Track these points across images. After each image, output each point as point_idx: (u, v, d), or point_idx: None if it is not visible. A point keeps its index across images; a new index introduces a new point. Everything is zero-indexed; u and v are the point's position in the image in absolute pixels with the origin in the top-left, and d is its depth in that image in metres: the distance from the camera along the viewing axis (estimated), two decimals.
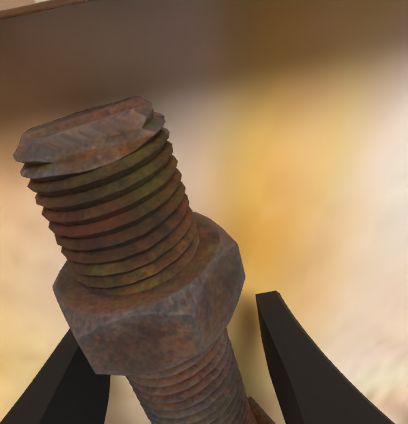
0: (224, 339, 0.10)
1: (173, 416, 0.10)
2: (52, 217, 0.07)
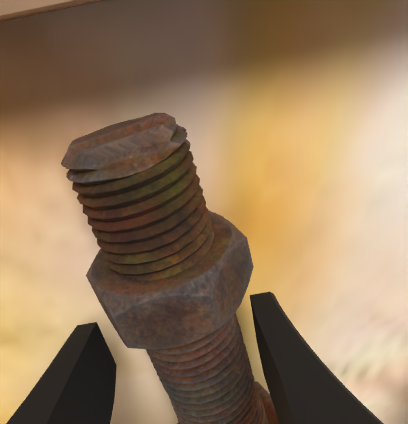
0: (234, 322, 0.12)
1: (190, 389, 0.11)
2: (94, 215, 0.09)
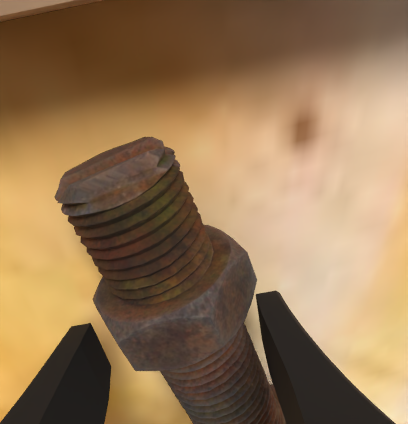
0: (243, 335, 0.12)
1: (204, 404, 0.12)
2: (90, 245, 0.09)
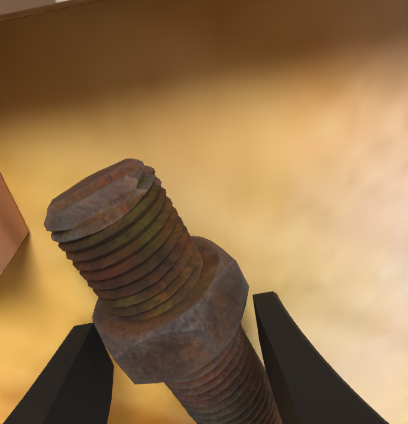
0: (241, 341, 0.12)
1: (208, 411, 0.12)
2: (81, 267, 0.09)
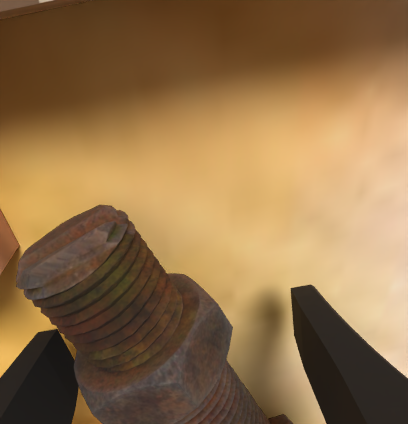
0: (228, 381, 0.12)
1: None
2: (54, 322, 0.09)
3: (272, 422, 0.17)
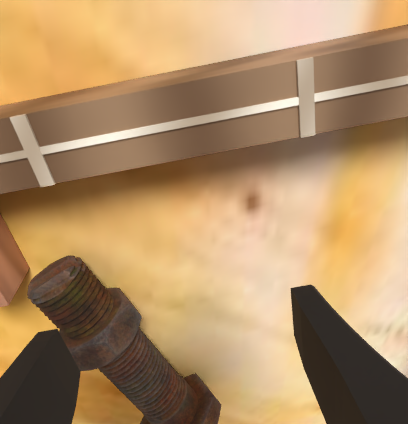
0: (142, 346, 0.22)
1: (124, 385, 0.21)
2: (46, 314, 0.19)
3: (188, 378, 0.27)
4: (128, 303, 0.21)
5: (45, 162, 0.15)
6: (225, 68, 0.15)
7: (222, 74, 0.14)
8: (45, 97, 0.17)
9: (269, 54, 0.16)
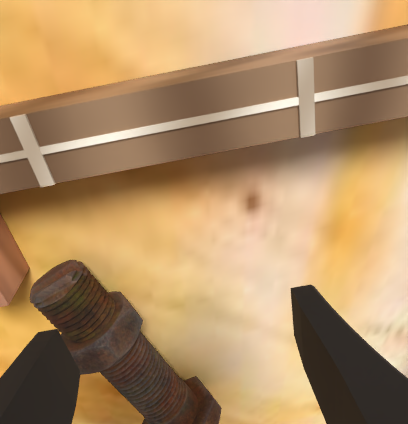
0: (143, 349, 0.22)
1: (125, 388, 0.22)
2: (48, 318, 0.19)
3: (188, 381, 0.27)
4: (129, 307, 0.21)
5: (45, 162, 0.15)
6: (225, 68, 0.15)
7: (222, 74, 0.14)
8: (45, 97, 0.17)
9: (269, 54, 0.16)
